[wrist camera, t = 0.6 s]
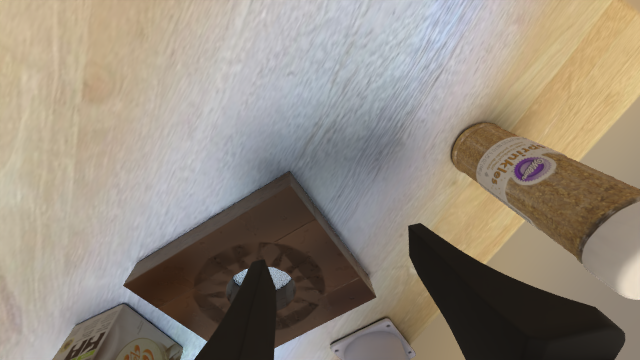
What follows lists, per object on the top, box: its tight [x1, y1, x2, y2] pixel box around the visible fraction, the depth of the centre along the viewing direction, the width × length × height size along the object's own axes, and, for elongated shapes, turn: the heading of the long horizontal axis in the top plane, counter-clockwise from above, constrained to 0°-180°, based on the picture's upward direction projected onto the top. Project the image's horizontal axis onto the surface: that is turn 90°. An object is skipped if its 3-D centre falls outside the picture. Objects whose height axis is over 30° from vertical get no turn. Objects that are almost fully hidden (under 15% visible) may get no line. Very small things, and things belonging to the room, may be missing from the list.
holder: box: [123, 171, 376, 348], centre depth 25 cm, size 15×16×2 cm
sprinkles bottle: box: [452, 123, 640, 300], centre depth 17 cm, size 5×5×13 cm
